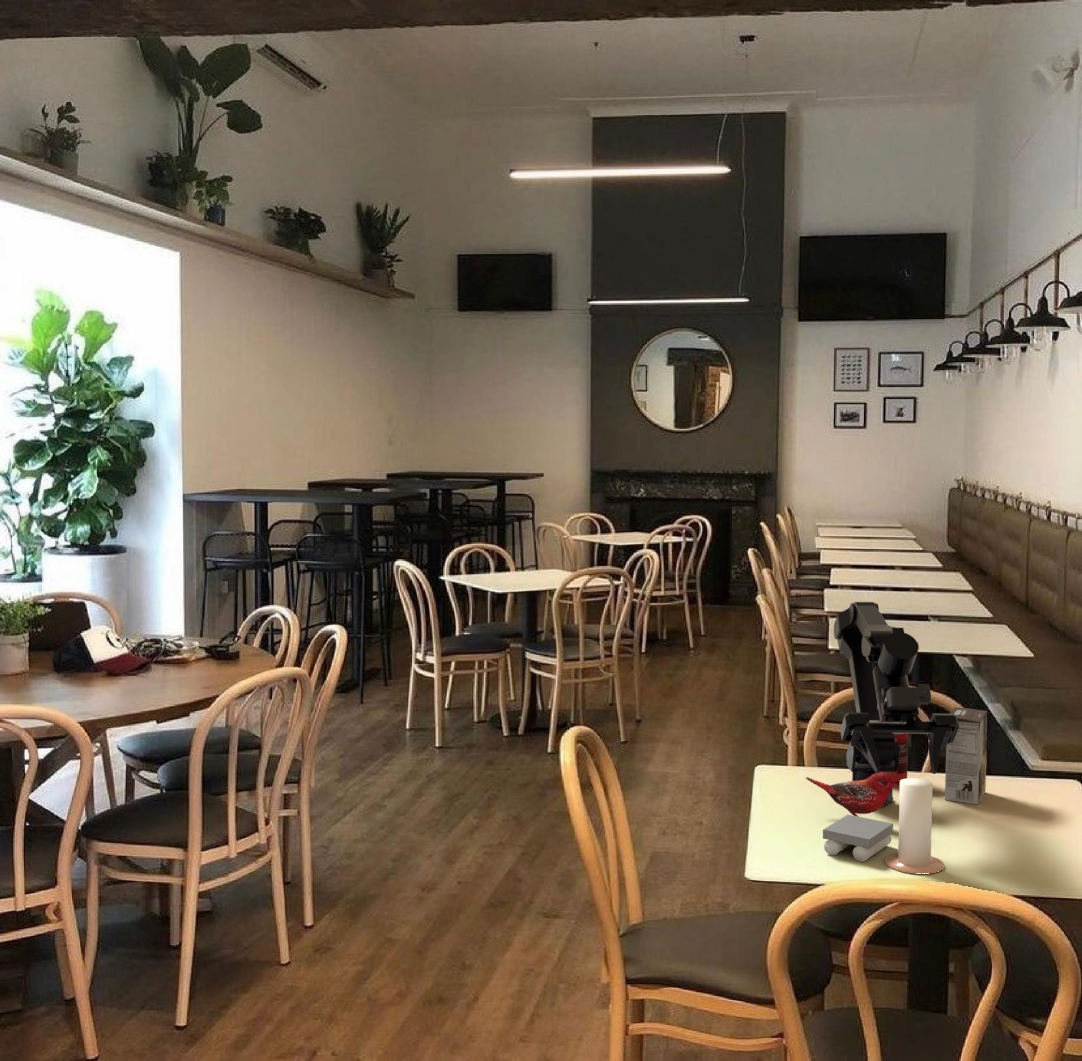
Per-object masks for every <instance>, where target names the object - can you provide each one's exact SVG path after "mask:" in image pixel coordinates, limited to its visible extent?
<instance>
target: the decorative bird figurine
mask: <svg viewBox="0 0 1082 1061" xmlns="http://www.w3.org/2000/svg"><path fill="white" fill-rule="evenodd" d="M805 779H806V780H807V781H809V782H810V783H812V784H813V785H815V786H817V787H819V788H821V789H822V790H823V791H825V793H827V794H828V795H829V797H830V798H831V799H832V800H833V802H835V803H836V804H838V805H839V806H841V807H843V808H844V809H846V811H848V812H849V813H850V815H853V816H858V817H860V816H859V815H868V814H871V813H875V812H877V811H879V810H880V809H881V808H883V807H884V806H885V805H884V803H885V802H886V800H887V798H888V796H889V794H890V793H891V790H892V787H893V788H898V785H896V784H895V783H894V782H893V779H892V777H891V775H890V774H889V773H887V772H879V773H875V774H873V775H871V776H870V777H869V778H867V779H865V780H860V781H852V780H849V781H842V782H838V783H834V784H827V783H824V782H822V781H820V780H819V781H818V780H816V779H813V778H810V777H805ZM883 805H884V806H883ZM882 806H883V807H882ZM858 814H859V815H858Z"/></svg>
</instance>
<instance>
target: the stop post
mask: <svg viewBox="0 0 1082 1061" xmlns="http://www.w3.org/2000/svg"><path fill="white" fill-rule="evenodd" d="M933 785H934V784H933V782H932V781H930V780H928V779H922V778H917V777H916V778H915V777H913V778H912V777H909V778H908V777H907V779H902V780H900V785H899V799H898V800H899V801H898V803H899V804H898V805H899V807H898V809H899V810H898V849H897V853H898V862H899V863H901V864H902V865H905V866H909V867H917V868H921V867H927V866H929V865H930V864H931V856H932V824H933V823H932V819H933V815H932V814H933Z"/></svg>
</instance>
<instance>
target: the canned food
mask: <svg viewBox="0 0 1082 1061" xmlns="http://www.w3.org/2000/svg"><path fill="white" fill-rule="evenodd" d="M894 737H895V740H897V741H898V744H899V747H900V748H901V752H900V756H899V762H898V770H897V772H890V775H891V777H892V779H893V782H894V783H895V784H896V785H897V786H900V780H902V779H907V778H908V766H909V765H908V760H909V757H908V756H909V755H908V754H909V733H894Z"/></svg>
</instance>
